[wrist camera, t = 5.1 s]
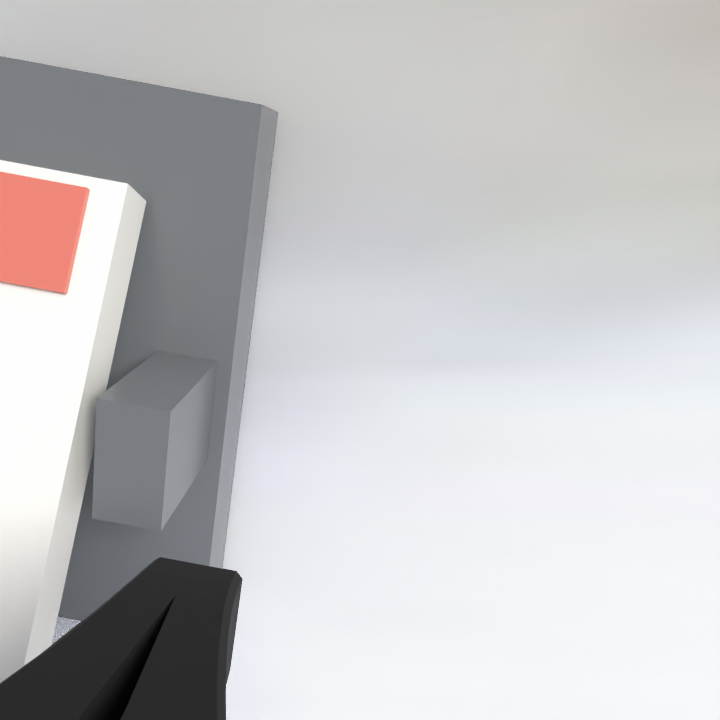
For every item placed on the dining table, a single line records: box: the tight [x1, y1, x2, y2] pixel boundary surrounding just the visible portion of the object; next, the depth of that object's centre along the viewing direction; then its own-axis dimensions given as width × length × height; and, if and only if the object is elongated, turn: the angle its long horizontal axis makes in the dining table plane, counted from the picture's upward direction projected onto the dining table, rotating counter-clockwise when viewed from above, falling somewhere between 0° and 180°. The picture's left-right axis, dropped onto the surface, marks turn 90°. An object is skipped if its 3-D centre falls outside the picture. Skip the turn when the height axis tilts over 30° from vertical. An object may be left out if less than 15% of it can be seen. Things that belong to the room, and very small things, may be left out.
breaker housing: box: [0, 56, 278, 621], centre depth 16 cm, size 16×11×6 cm
